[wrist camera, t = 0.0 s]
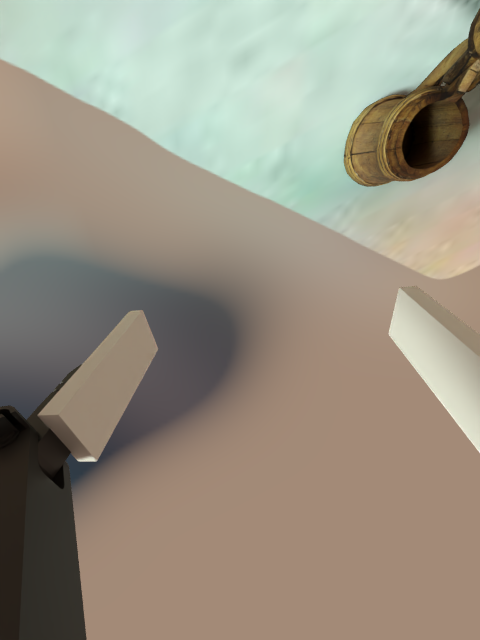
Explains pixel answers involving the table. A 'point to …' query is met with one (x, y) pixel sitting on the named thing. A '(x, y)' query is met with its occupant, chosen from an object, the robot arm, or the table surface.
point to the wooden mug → (416, 122)
